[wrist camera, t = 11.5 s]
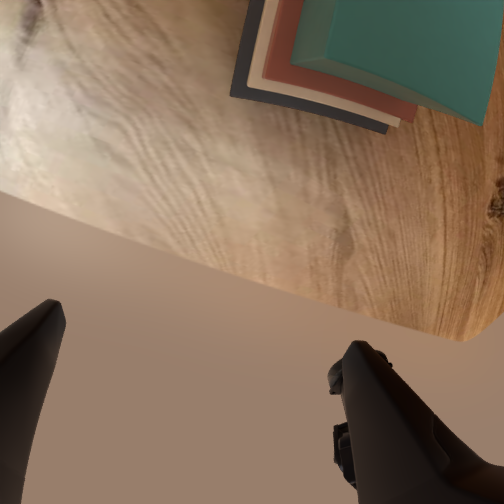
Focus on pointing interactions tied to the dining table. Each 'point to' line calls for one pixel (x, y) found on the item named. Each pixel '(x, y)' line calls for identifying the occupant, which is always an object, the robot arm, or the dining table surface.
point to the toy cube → (407, 49)
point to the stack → (303, 74)
